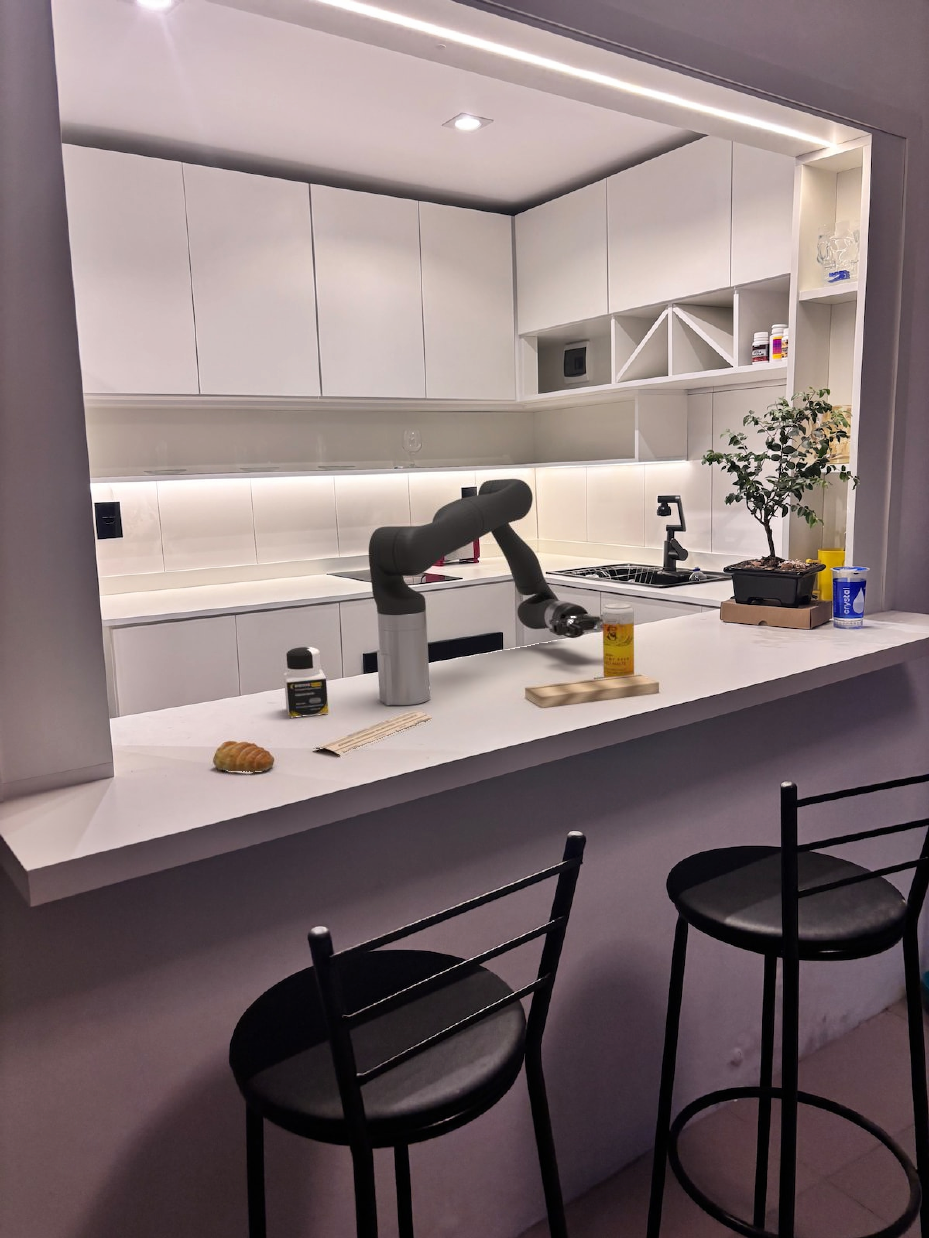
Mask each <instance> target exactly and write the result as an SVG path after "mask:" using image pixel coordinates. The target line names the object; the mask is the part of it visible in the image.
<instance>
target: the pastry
mask: <svg viewBox="0 0 929 1238" xmlns="http://www.w3.org/2000/svg"><path fill="white" fill-rule="evenodd" d="M212 763H213V765H214V766H215V767H216V768H217V769H218V770H219V769H220V770H221V771H222V770H223V771H224V770H228V771H242V772H243V771H245V772H246V771H247V772H249V771H250V772H255V771H264V770H266V771H267V770H269V769H271V768H273V766H274V763H275V758H274V756H273V755H272V754H271V753H270V751H268V750H265V748H264V747H263V746H262V747H261V746H258V745H257V744H256V743H253V742H252V743H251V742H247V741H241V742H237V741H236V740H228V741H224V742H223V743H222V744H221V745H220V746H219V747H217V749H216V750H215V753H214V755H213V758H212ZM220 770H219V771H220ZM264 772H265V771H264Z"/></svg>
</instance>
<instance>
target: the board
mask: <svg viewBox="0 0 929 1238" xmlns="http://www.w3.org/2000/svg"><path fill="white" fill-rule="evenodd" d="M524 692H525V694H524V696H525V699H526V698H527V700H528V701H530V702H532V703H534V704H535V705H536V706H538V707H539V708H551V707H559V706H566V705H574V704H580V703H581V704H582V703H591V702H596V701H597V702H598V701H605V700H612V699H621V698H622V699H623V698H629V697H637V696H644V695H652V694H659V693H660V681H656V680H654V679H651V678H649V677H647V676H645V675H642V674H639V673H636V674H635V673H634V675H625V676H617V677H609V678H600V679H594V678H592V679H586V680H585V679H584V680H579V681H578V680H577V681H569V682H561V683H552V684H544V685H536V686H526V687H524Z"/></svg>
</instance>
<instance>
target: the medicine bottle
mask: <svg viewBox="0 0 929 1238" xmlns="http://www.w3.org/2000/svg"><path fill="white" fill-rule="evenodd" d="M320 653H321V651H320V650H319V649H318V648H316V647H311V646H303V647H302V646H301V647H295V648H291V649H290V650H287V652H286V655H285V656H286V667H287V672H284V673H283V681H284V695H285V706H286V711H287V714H288V717H296V716H303V715H316V716H319V715H318V714H325V715H328V714H329V700H328V698H329V697H328V687H327V685H328V684H327V677H326V675H325V673H324V671H323V669H322V668H321V666H322V665H321V656H320ZM327 713H328V714H327Z"/></svg>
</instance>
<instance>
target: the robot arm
mask: <svg viewBox="0 0 929 1238" xmlns="http://www.w3.org/2000/svg"><path fill="white" fill-rule="evenodd" d="M533 499H534V497H533V492H532V488H531V487H530V485H529V484H528V483H526V481H524V480H522V479H517V478H502V479H492V480H490V479H489V480H486V481H484V482H483V483H482V484H481V485H480V487H479V488H478V493H477V495H473V496H472V495H471V496H467V497H461V498H459V499H456V500H453V501H451V502H449V503H447V504H445V505H444V506H442V507H440V508H439V509H438V510H437V511H436V512H435V514H434V516H433V518H432V522H430V523H426V524H423V525H415V526H414V525H406V526H405V525H403V526H400V525H397V526H393V525H391V526H387V525H386V526H381V527H378V528H376V529H375V530H373V532H372V534H371V536H370V539H369V542H368V543H369V544H368V563H369V564H368V565H369V571H370V572H369V574H370V581H371V590H372V592H371V593H372V597H373V599H374V602H375V605H376V612H377V613H376V614H377V626H378V627H377V630H378V632H377V633H378V645H379V646H378V648H379V649H377V652H376V655H377V659H376V660H377V673H378V692H379V693H378V694H379V700H380V701H382V703H384V705H386V706H410V705H418V704H422V703H425V702H427V701H429V700H430V699H431V685H430V683H431V682H430V667H429V666H430V665H429V646H428V628H427V627H428V625H427V624H428V623H427V622H428V621H427V610H426V609H427V605H426V598H425V596H424V595H423V594H422V593H420V592H418V591H416V590H415V589H413V588H412V587H410V586H409V585H408V584H407V583H406V582H405V578H404V577H411V576H412V577H413V576H415V577H416V576H419V575H421V574H423V573H425V572H427V571H428V570H430V569H431V568H432V567H433V566H435V564H437V563H438V562H440V561H441V560H442V559H443V558H445V557H446V556H448V555H450V554H452V553H454V552H456V551H457V550H460V549H461V548H464V547H466V546H468V545H470V544H472V543H473V542H475V541H477V540H478V539H480V538H481V537H484V536H485V535H488V534H489V533H491V535H492V537H493V538H494V540H495V542H496V543H497V545H498V546H499V549H500V551H501V552H502V554H503V556H504V558H505V559H506V562H507V564H508V567H509V571H510V573H511V576H512V579H513V582H514V584H515V587H516V590H517V592H519V594H521V595H522V596H530V597H528V598H526V599H525V600H523V601H522V602H521V603H519V605H518V607H517V610H516V611H517V617H518V619H519V621H520V623H522V625H524V626H525V627H527V628H528V629H531V630H541V629H542V630H543V629H544V630H545V629H549V632H550V633H553V634H555V635H556V636H560V637H561V636H564V637H567V638H570V639H578V638H579V637H581V636H583V635H584V634H586V633H589V632H590V633H600V632H603V614H601V615H592V614H590V613H589V612H588V610H586V608H584V607H583V606H581V605H579V604H576V603H572V602H569V601H565V600H559V598H558V597H557V596H556V594H555V593H554V592H553V590H552V589H551V587H550V586H549V584H548V583H547V580H546V579H545V577H544V573H543V570H542V567H541V565H540V561H539V559H538V557H537V555H536V553H535V552H534V551H533V549H532V548H531V546H529V544H528V543H526V542H525V541H524V540H523V538H521V537H520V535H518V533H516V532H515V530H514V529H513V527H512V526H511V525H510V523H513V522H516V521H520V520H522V519H524V518H525V517H526V516H527V515H528V514H529V513H530V511H531V508H532V505H533Z"/></svg>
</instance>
